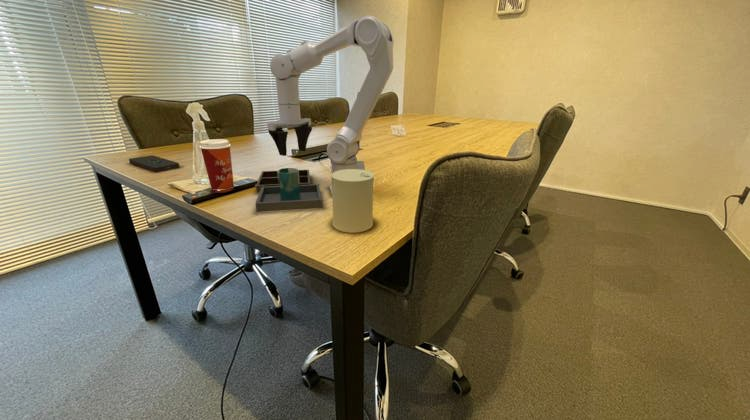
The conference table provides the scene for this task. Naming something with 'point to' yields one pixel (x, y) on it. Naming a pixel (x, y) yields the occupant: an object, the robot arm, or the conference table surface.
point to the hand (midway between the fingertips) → (292, 152)
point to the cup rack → (272, 179)
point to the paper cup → (218, 163)
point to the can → (352, 200)
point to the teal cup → (289, 184)
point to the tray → (271, 200)
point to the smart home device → (154, 163)
